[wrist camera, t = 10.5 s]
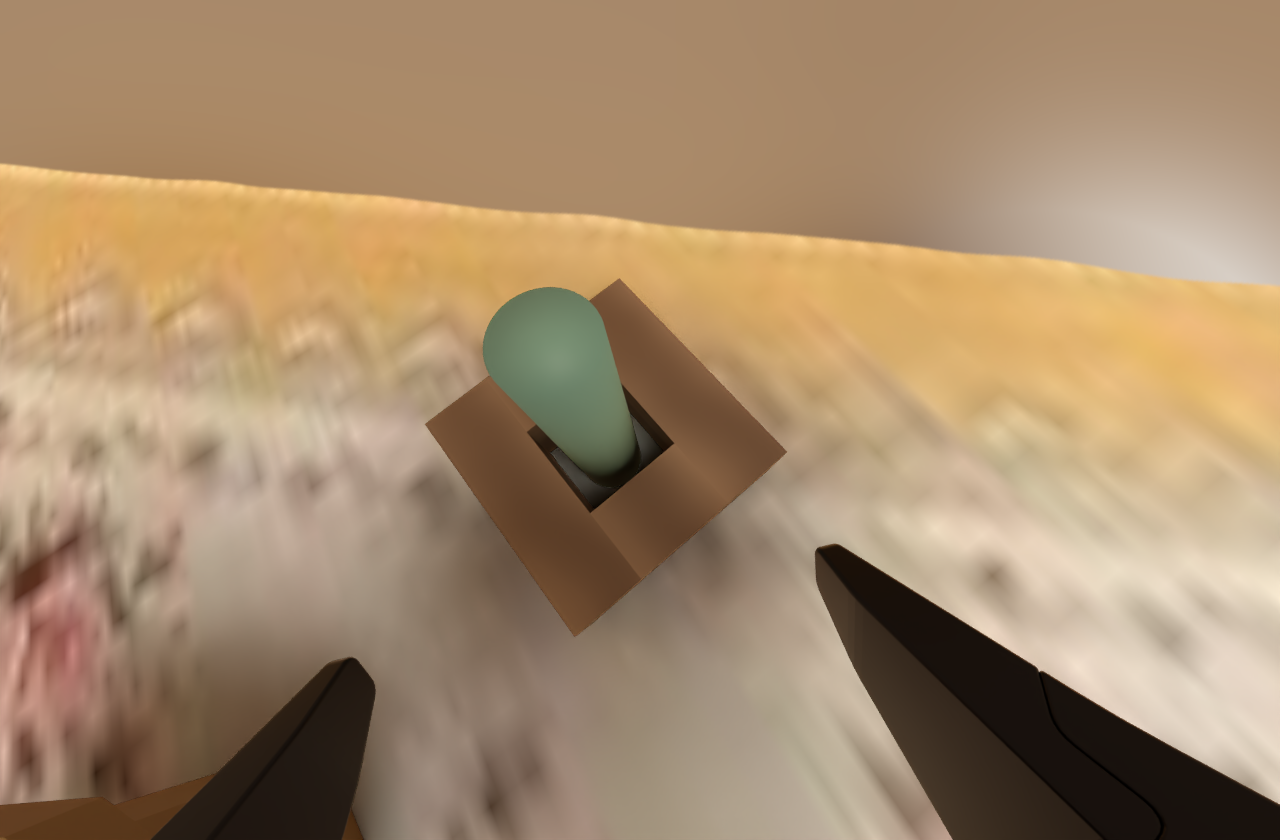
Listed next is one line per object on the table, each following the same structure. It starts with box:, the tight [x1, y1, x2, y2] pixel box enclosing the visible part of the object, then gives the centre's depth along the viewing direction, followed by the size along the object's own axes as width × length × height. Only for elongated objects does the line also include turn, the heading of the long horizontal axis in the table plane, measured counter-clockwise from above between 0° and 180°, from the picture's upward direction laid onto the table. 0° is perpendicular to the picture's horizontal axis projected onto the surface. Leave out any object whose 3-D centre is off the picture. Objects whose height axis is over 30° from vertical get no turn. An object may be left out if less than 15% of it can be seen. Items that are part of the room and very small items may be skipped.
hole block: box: [425, 278, 787, 637], centre depth 22 cm, size 11×11×4 cm
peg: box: [483, 287, 641, 487], centre depth 17 cm, size 3×3×13 cm
